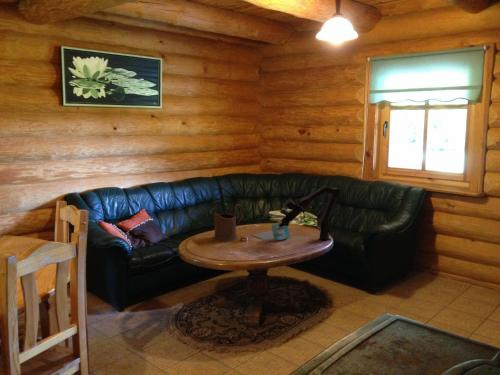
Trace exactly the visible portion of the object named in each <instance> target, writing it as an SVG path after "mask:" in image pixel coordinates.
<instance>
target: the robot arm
mask: <svg viewBox="0 0 500 375" xmlns="http://www.w3.org/2000/svg"><path fill="white" fill-rule="evenodd" d="M324 194H328V200H327V202H326V205H325V208H324V210H323V213H322V217H319V218H318V219H317V222H316V226H317V229H318V230H319V237H318V240H320V241H323V242H327V241H331V238H330V233H331V229H330V227H329V218H330V215H331V213H332V210H333V207H334V205H335V202H336V201H337V199H338V198H339V196H340V194H341V190H340V189H339V188H336V187H335V186H334V187H327V186H325V185H323V186H321V187H320V188H319V189H317V190H316V191H313V192H312V193H310V194H309V195H307V196H304V197H302V198H299V199H298V200H296V201H295V200H294V198H292V197H290V198H288V199H287V200H286V201H285V202H284V206H285V207H286V208H285V207H282V208H281V210H279V211H280V212H279V213H280V214H282V215H284V216H283V217H282V218H281V220H280V221H281V222H280V223H281V224H280V226H279V227H283V226H289V225H290V224H291V223H292V222H293V221H294V220H295V219H296V218H297V217H298V216H299V215H300V214H301V213H302V214H305V213H306V212H305V211H306V208H308V207H309V206H310V205H311V203H312V202H313V201H315V200H316V199H318V198H319V197H321V196H323V195H324ZM287 208H288V209H289V210H288V209H287Z"/></svg>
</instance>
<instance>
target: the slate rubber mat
mask: <svg viewBox="0 0 500 375" xmlns="http://www.w3.org/2000/svg"><path fill="white" fill-rule="evenodd" d="M251 236H253V237H255V238H257V239H261V240H263V241H265V242H272V241H275V240H274V236H273V232H272V230H268V231H264V232H258V233H254V234H251ZM290 237H291V235H290ZM290 237H289V238H290Z"/></svg>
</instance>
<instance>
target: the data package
mask: <svg viewBox="0 0 500 375" xmlns="http://www.w3.org/2000/svg"><path fill="white" fill-rule="evenodd" d="M281 223H282V222H278V223H273V224H272V225H271V229H272V230H271V231H272V232H273V236H274V240H273V241H282V240H286V239H289V238H290V236H291V235H290V231H289V227H288V226H289V225H288V226H283V227H279V226H280V224H281Z"/></svg>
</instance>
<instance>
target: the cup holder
mask: <svg viewBox="0 0 500 375" xmlns="http://www.w3.org/2000/svg"><path fill="white" fill-rule="evenodd" d="M238 206H241V216H240V218H239V219H238V220H237V219H236V218H237V217H236V215H237V207H238ZM213 215H214V216H213V218H214V235H213V238H212V239H213V241H215V242H217V241H218V242H217V243H232V242H236V241H237V240H238V239H239V238H238V236H237V226H238V225H239V224H240V222H241V220H242V219H243V217H244V205H243V204H241V203H237V204H236V205H235V206H234V214H230V213H216V212H214V213H213ZM236 220H237V222H236Z"/></svg>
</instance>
